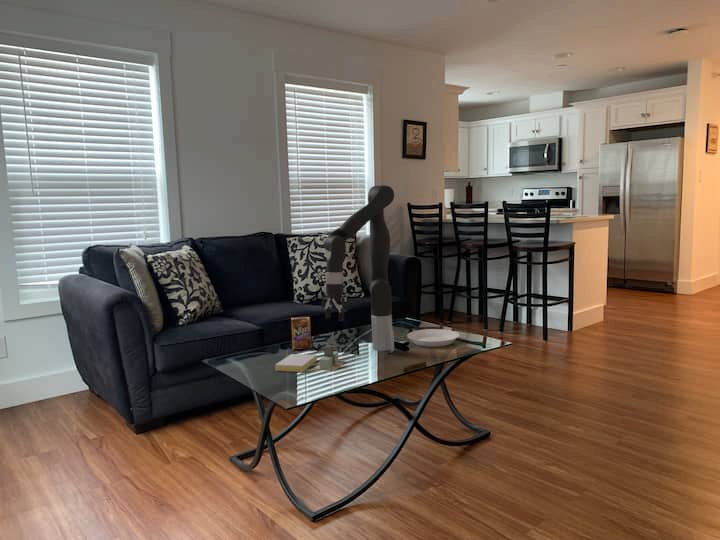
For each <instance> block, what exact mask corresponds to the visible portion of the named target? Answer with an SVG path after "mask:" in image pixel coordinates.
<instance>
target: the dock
mask: <svg viewBox="0 0 720 540" xmlns="http://www.w3.org/2000/svg"><path fill="white" fill-rule="evenodd" d="M317 361H318V356H317V354H301V353H300V354H298V353H291V354H289V355H288V356H286V357H284V358H283V359H282V360H280V361H279V362H277V363H275V365H274V366H275V367H274V368H275V369H274V370H275V372H293V373H294V372H296V373H303V372H305V371H306V370H307V369H309V368H310V367H311V366H312V365H314V364H315V363H316V362H317Z"/></svg>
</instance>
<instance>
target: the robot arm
mask: <svg viewBox="0 0 720 540" xmlns="http://www.w3.org/2000/svg"><path fill="white" fill-rule="evenodd" d="M394 199H395V191H394V189H393V188H392V187H391V186H389V185H374V186H372V187H370V189H369V190H368V193H367V204H366V205H364V206H363V207H362V208H360V209H359V210H357V211H355V212H354V213H353V214H352V215H350V216H349V217H348V218H347V219H346V220H345V221H344V222H343V223H342V224H341V225H340V226H339V227H337V228H336V229H335V230H333V231H332V232H331V233H329V234H328V235H327V236H326V237H325V238H324V241H323V247H324V249H325V250H326V251H327V252H330V256H329V257H328V259H326V275H325V293H324V294H322V298H321V308H322V309H324V310H325V318H326V319H330V318H332V316H331V312H332V311H331V308H332V307H335V308H336V309H338V321H339V322H343V321H345V312H348V311H349V301H348V297H347V296H344V297H343V294H344V265H343V264H344V259H345V255H346V250H347V247H346V246H347V244H346V243H347V242H346V241H347V240H350V239H352V238H353V237H354V236H355V235H356V234H357V233H358V232H359V231H361V229H362V228H363V227H364V226H365V225H366V224H367V223H368V222H369V256H370V258H369V259H370V267H371V271H370V272H371V273H370V274H371V275H370V284H369V294H370V301H371V303H370V305H371V306H370V308H371V309H370V314H371V318H370V320H371V334H372V335H371V337H372V339H371V340H372V351H375V352H387V354H392V353H393V352H394V351H395V337H394V329H393V315H392V309H393V303H392V302H393V300H392V298H393V297H392V287H391V285H390V284H389V277H388V275H389V274H388V266H389V261H390V260H389V259H390V254H391V235H390V231H389V228H388V225H387V223H386V221H385V214H384V211H385V210H384V209H386V207H388V206H389V205H391V204H392V203H393V201H394Z"/></svg>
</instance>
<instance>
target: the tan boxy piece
mask: <svg viewBox="0 0 720 540" xmlns="http://www.w3.org/2000/svg"><path fill="white" fill-rule="evenodd" d="M333 352H334V345H333V344H332V345H330V344H329V345H328V344H325V346H324V347H323V355H324V356H323V357H332V367H331V368H330V369H320V362H319V363H318V364H317V365H316V366H315V367H314V368H312V370H315V371H316V370H319V371H321V370H322V371H336V370H338V369H339V368H340V367H341V366H342V365H343V364H344V363H345V362H346V360H341V359H340V360H339V359H338V360H339V361H338V362H337V363H336V364H334V354H333Z"/></svg>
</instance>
